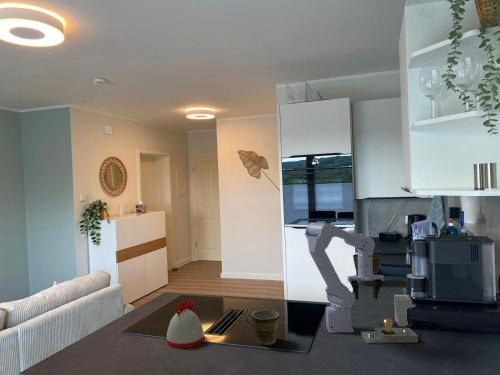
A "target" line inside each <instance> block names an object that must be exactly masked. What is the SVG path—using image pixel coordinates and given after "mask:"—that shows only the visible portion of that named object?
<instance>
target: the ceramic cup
mask: <svg viewBox="0 0 500 375" xmlns="http://www.w3.org/2000/svg"><path fill="white" fill-rule="evenodd" d="M248 316H249V317H250V318H251V320H252V322H251V321H250V320H249V319H248ZM279 317H280V313H279V312H277V311H275V310H271V309H263V310H256V311H253V312H252V314H251V313H248V314H246V316H245V320H246V321H247V323H249V324H250V325H251V327H252V328H253V329H254V333H255V334H254V335H255V338H256V343H258V344H259V345H262V346H263V345H264V346H268V345H269V346H270V345H273V344H275V343H276V339H277V333H278V327H279V326H278V325H279V320H280V318H279Z"/></svg>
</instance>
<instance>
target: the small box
mask: <svg viewBox="0 0 500 375" xmlns="http://www.w3.org/2000/svg"><path fill="white" fill-rule="evenodd" d="M393 297H394V300H393V301H394V320H395V321H396V324H397V326H398V327H404V328H407V327H406V326H407V325H408V321H407V309H408V308H411V307H412V308H413V300H412V298H411V297H410V296H409V294H394V295H393Z"/></svg>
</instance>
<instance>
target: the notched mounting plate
mask: <svg viewBox="0 0 500 375" xmlns="http://www.w3.org/2000/svg"><path fill="white" fill-rule="evenodd" d="M360 335H361V338H362V339H363V340H364V342H365V343H366V344H393V343H394V344H397V343H398V344H405V343H407V344H410V343H411V344H413V343H418V341H419V338H418V334H417V333H416V332H415V331H414V330H413V329H412V328H411V327H393V334H386V335H384V327H382V328H381V327H379V328H378V327H375V328H374V331H361V332H360Z"/></svg>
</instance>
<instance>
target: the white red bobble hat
mask: <svg viewBox="0 0 500 375" xmlns="http://www.w3.org/2000/svg"><path fill="white" fill-rule="evenodd" d="M180 304H181V305H180ZM180 304H178V305H177V306H178V309H177V308H175V309H174V310H175V314H174V315H173V317H172V318H171V319H170V321H169V324H168V328H167V332H166V344H167V345H168V346H169V347H172V348H176V349H189V348H192V347H195V346H198V345H200V344H201V343H203V342H204V340H205V332H204V329H203V326H202V322H201V320H200V318H199V317H198V315H197V314H196V313H195V312H194V311H193V307H194V304H195V301H192V299H188V300H186V299H185V300H181V303H180Z"/></svg>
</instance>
